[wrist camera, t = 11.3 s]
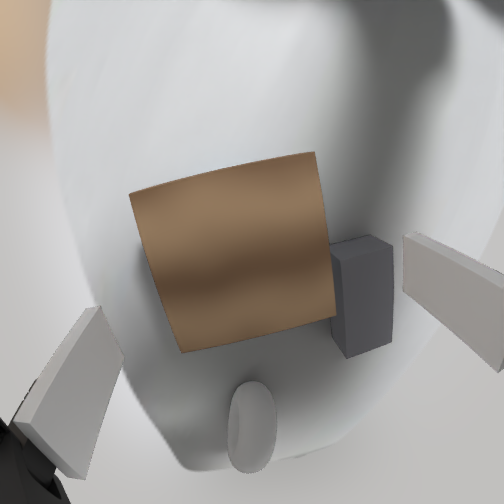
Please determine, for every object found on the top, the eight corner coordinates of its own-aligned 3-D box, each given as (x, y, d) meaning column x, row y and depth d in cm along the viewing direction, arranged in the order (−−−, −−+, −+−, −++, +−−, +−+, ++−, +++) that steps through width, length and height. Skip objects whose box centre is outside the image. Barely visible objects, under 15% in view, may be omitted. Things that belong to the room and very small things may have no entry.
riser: (322, 246, 26) (340, 260, 22) (370, 234, 26) (392, 246, 22) (332, 336, 29) (346, 358, 25) (373, 323, 29) (391, 342, 26)
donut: (237, 359, 28) (248, 435, 19) (269, 362, 29) (291, 435, 20) (222, 421, 31) (228, 489, 21) (250, 423, 32) (262, 489, 22)
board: (138, 190, 18) (128, 194, 16) (302, 152, 19) (314, 151, 16) (183, 334, 21) (181, 353, 19) (324, 300, 22) (336, 315, 20)
